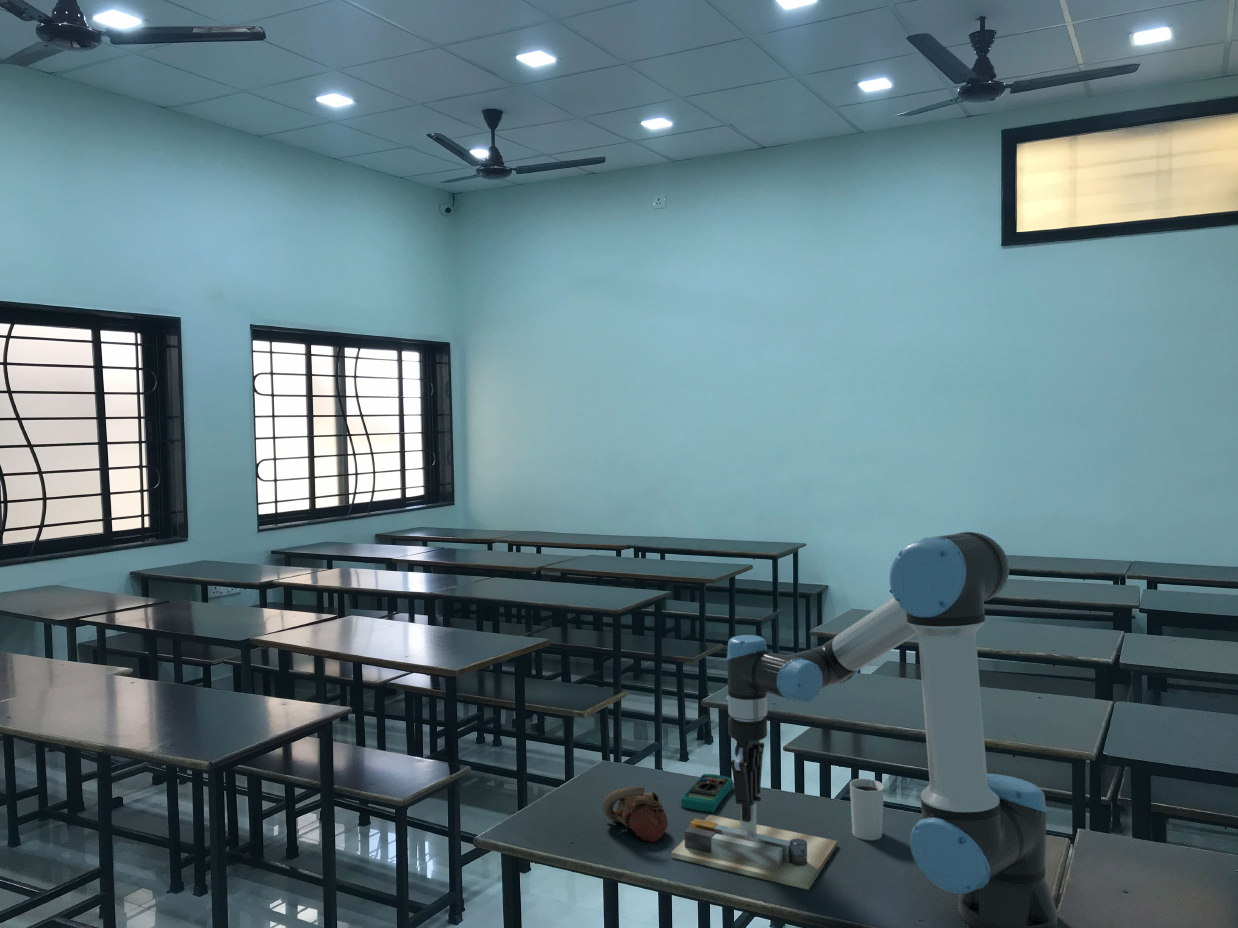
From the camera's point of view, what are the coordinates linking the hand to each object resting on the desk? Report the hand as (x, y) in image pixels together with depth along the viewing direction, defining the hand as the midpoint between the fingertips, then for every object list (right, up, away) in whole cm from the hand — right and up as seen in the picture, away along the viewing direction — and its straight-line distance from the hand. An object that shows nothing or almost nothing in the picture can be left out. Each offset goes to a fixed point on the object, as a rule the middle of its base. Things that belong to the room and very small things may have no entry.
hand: (748, 834), depth 176 cm
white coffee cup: (+25, -2, +6) cm, 25 cm away
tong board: (+1, -3, -1) cm, 3 cm away
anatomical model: (-22, -3, +9) cm, 24 cm away
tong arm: (-1, -2, -3) cm, 3 cm away
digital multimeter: (-6, -3, +25) cm, 26 cm away
